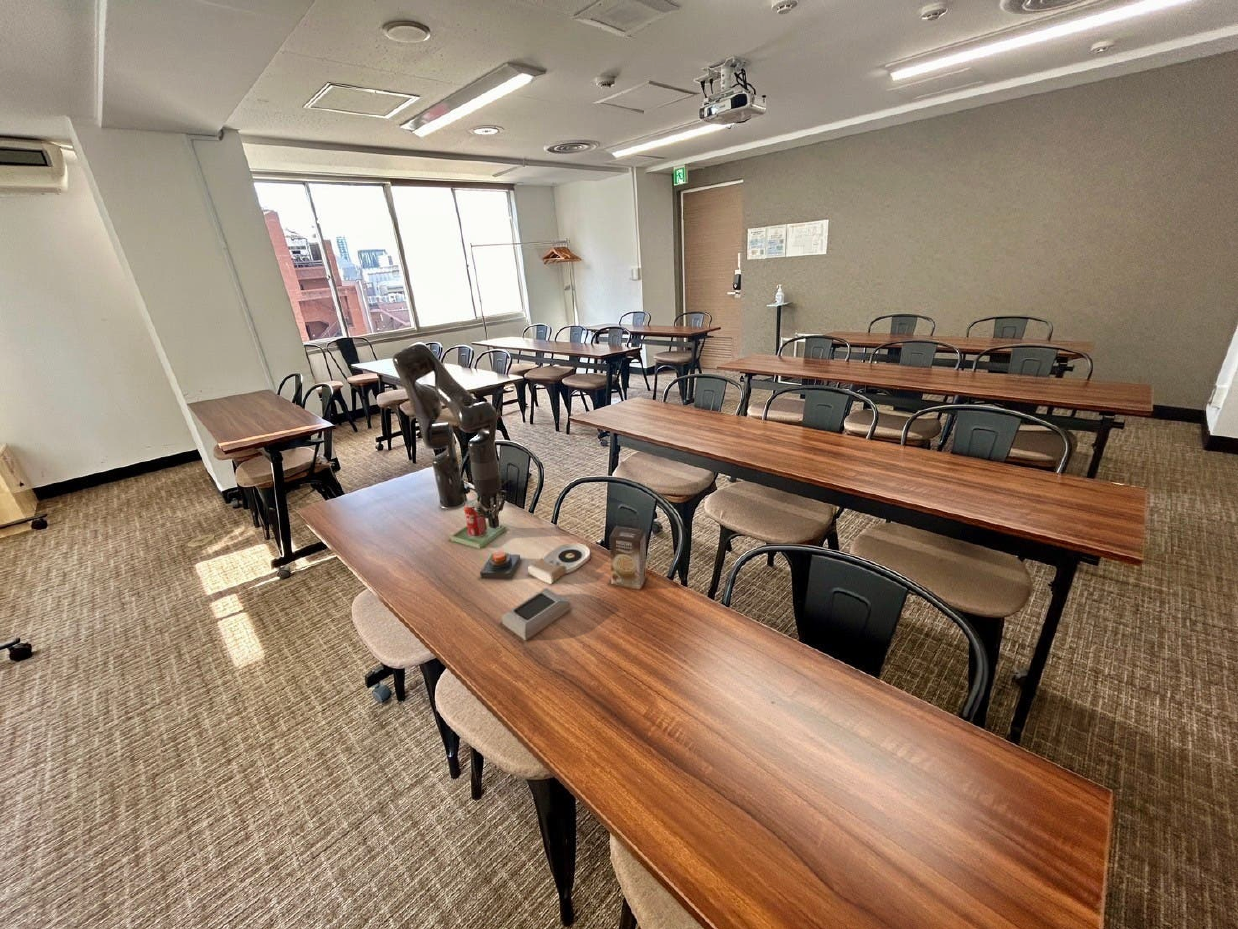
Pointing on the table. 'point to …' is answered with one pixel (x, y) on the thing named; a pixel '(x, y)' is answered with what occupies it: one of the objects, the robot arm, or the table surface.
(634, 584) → the coffee box
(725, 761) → the table surface
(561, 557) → the record player
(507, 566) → the button box
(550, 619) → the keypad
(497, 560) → the button
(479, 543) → the tray
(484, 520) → the beverage can
